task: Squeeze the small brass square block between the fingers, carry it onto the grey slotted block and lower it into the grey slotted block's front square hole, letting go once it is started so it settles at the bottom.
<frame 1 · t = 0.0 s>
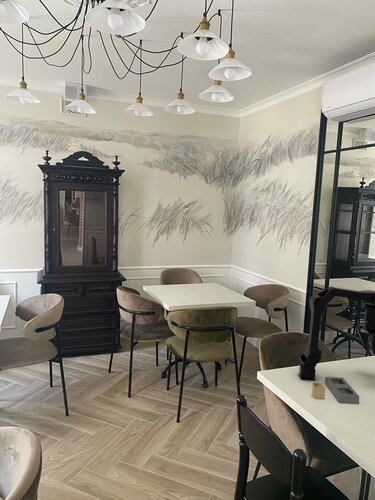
hand: (369, 350, 166), 14 cm above the table, tool pointing down, fingers open, 9 cm apart
grey slotted block: (340, 392, 154), on the table
brass block: (318, 396, 150), on the table
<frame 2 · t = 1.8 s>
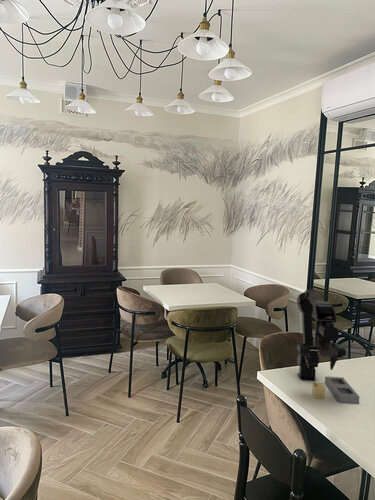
hand: (320, 369, 149), 12 cm above the table, tool pointing down, fingers open, 9 cm apart
nothing on the table moved.
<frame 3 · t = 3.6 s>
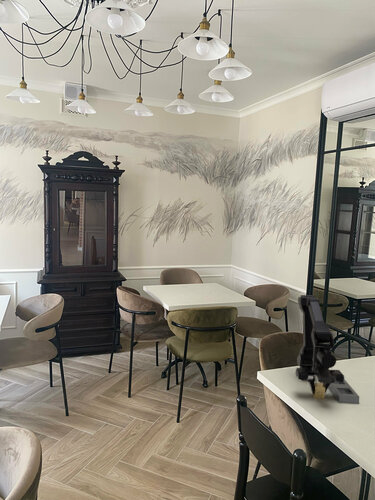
hand: (318, 394, 150), 1 cm above the table, tool pointing down, fingers closed on brass block, 4 cm apart
brass block: (318, 396, 150), on the table, touching gripper
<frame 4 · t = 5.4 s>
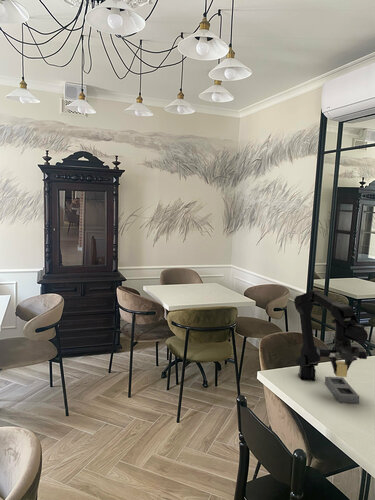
hand: (340, 372, 149), 11 cm above the table, tool pointing down, fingers closed on brass block, 4 cm apart
brass block: (340, 374, 149), point 10 cm above the table, touching gripper
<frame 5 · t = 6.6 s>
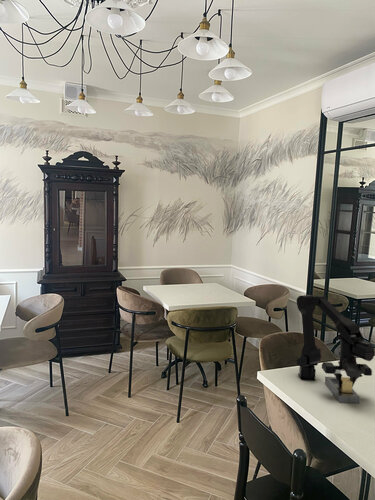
hand: (345, 388, 149), 4 cm above the table, tool pointing down, fingers closed on brass block, 4 cm apart
brass block: (345, 390, 149), point 3 cm above the table, touching gripper
when the fingers open (3 cm above the table, at t = 7.4 s): brass block drops 3 cm, resting in grey slotted block.
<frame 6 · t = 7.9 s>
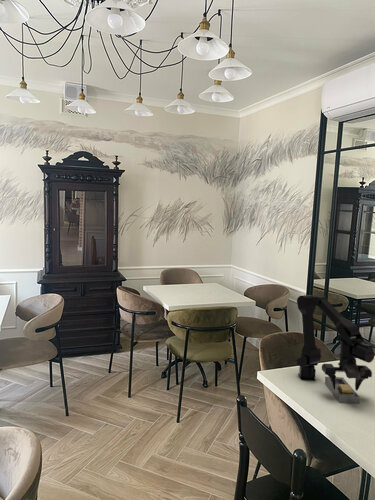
hand: (345, 389, 149), 3 cm above the table, tool pointing down, fingers open, 9 cm apart
brass block: (344, 398, 150), resting in grey slotted block
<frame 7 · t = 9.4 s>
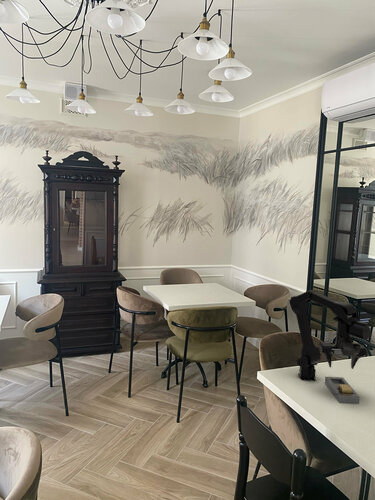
hand: (341, 367, 153), 11 cm above the table, tool pointing down, fingers open, 9 cm apart
nothing on the table moved.
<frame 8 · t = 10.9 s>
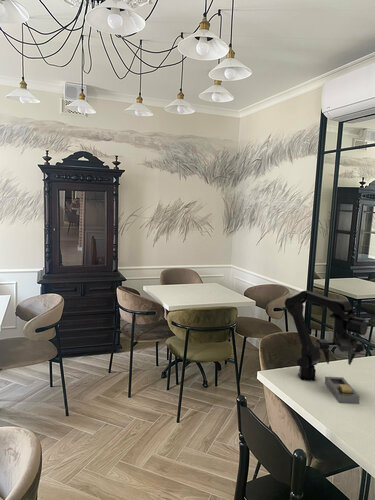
hand: (338, 364, 155), 12 cm above the table, tool pointing down, fingers open, 9 cm apart
nothing on the table moved.
at the end: brass block 0.0 cm from the target spot on the grey slotted block, point 0.0 cm above the grey slotted block's base; brass block tilted 0°; the gripper is holding nothing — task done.
